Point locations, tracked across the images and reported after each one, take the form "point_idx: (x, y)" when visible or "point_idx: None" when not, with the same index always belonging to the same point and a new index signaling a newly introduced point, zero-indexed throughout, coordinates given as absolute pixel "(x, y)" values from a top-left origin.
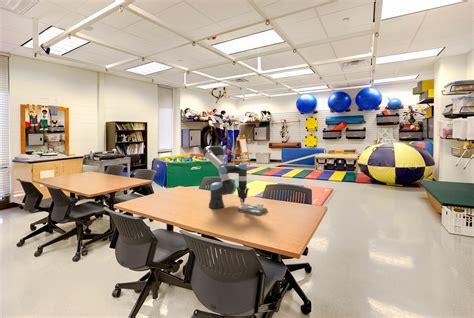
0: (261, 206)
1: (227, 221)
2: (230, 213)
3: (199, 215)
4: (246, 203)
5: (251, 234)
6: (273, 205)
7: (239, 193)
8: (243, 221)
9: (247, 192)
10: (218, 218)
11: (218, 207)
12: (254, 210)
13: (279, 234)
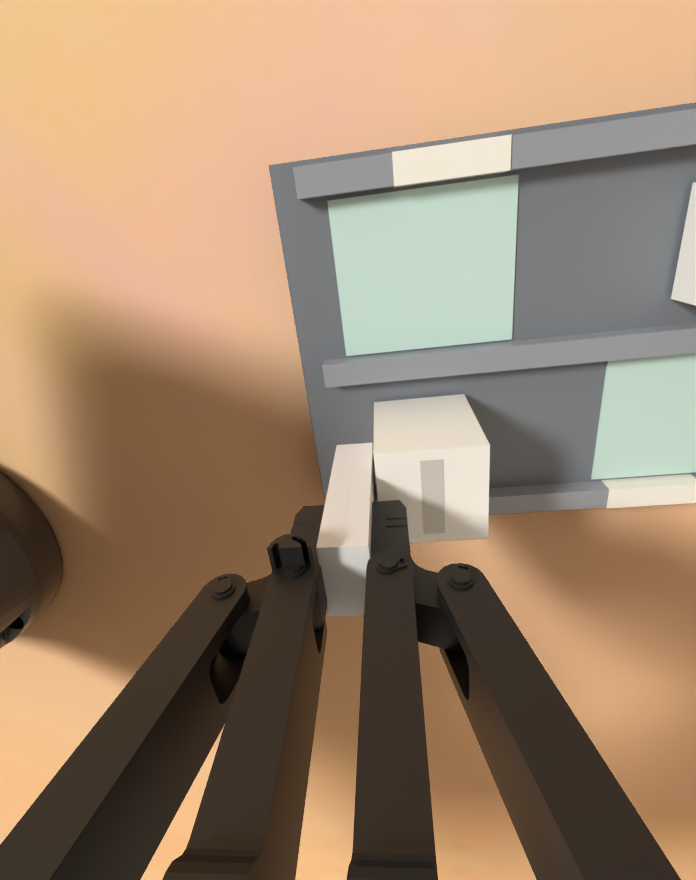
0: None
1: (485, 768)
2: (327, 614)
3: None
4: (470, 491)
5: None
6: None
7: (186, 745)
8: (636, 702)
9: (637, 829)
10: (356, 761)
11: (47, 599)
12: (643, 402)
13: None
